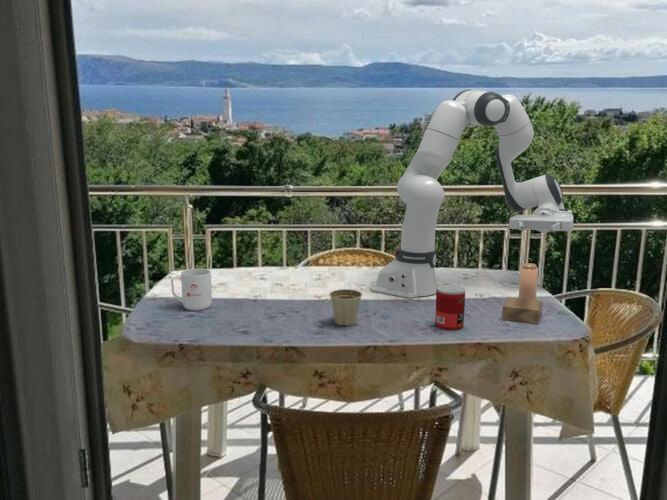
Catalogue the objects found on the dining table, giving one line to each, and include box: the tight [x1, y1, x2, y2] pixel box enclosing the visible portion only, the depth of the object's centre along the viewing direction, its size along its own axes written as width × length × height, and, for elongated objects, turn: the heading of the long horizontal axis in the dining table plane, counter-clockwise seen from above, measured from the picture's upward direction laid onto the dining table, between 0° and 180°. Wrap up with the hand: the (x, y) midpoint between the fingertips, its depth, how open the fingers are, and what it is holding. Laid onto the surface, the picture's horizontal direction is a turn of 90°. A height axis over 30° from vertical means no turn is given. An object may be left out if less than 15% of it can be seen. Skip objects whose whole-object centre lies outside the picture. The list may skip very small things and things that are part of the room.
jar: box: [518, 262, 539, 300], centre depth 199 cm, size 5×5×13 cm
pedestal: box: [501, 296, 543, 325], centre depth 189 cm, size 10×10×4 cm
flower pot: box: [328, 288, 363, 327], centre depth 184 cm, size 9×9×9 cm
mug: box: [170, 268, 213, 312], centre depth 198 cm, size 12×9×11 cm
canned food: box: [434, 284, 466, 331], centre depth 181 cm, size 8×8×11 cm
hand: (536, 228), depth 205 cm, fingers open, 8 cm apart
